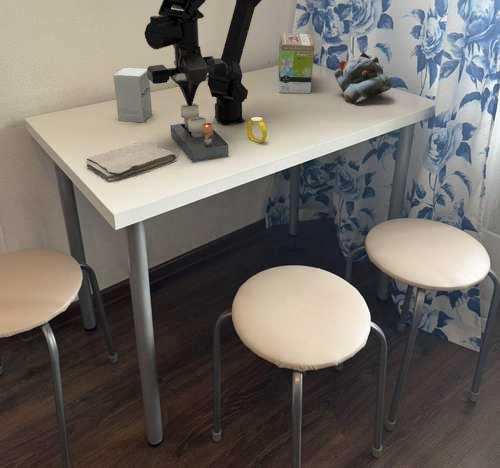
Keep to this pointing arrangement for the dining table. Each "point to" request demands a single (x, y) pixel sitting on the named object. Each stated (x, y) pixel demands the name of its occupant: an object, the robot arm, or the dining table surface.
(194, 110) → the knob
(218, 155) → the dark grey tray
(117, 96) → the supplement box
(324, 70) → the dining table surface
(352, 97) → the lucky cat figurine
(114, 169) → the washcloth
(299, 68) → the tea box
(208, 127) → the orange bulb
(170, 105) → the dining table surface
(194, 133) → the knob
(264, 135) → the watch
